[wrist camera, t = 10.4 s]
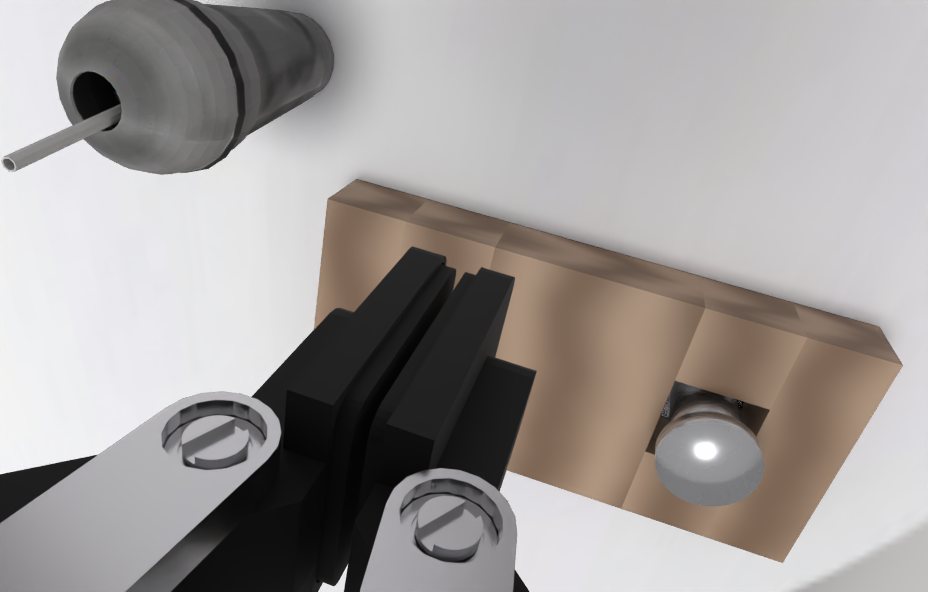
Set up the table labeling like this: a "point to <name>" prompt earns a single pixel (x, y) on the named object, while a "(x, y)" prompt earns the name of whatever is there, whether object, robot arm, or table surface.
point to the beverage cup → (180, 81)
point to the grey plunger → (707, 449)
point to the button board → (635, 360)
